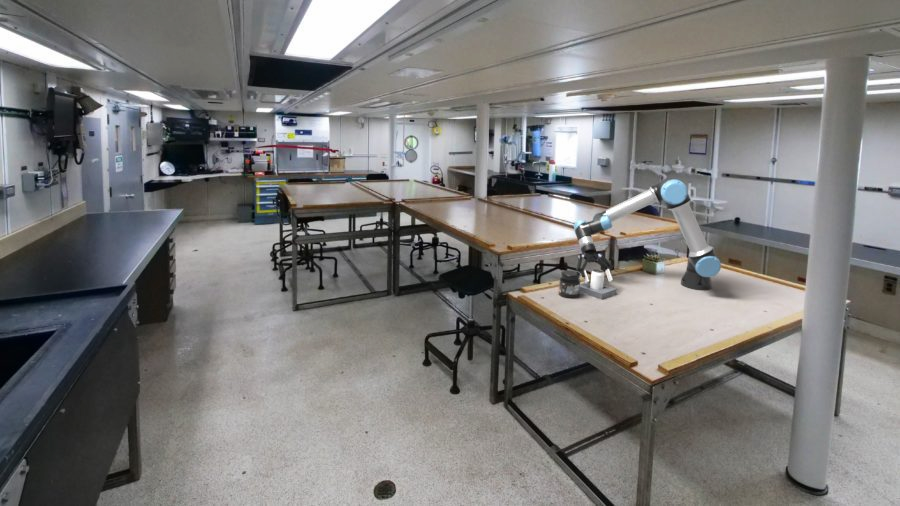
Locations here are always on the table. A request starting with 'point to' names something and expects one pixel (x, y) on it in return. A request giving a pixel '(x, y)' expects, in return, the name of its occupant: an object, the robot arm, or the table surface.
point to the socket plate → (597, 291)
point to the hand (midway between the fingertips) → (599, 281)
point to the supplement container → (569, 284)
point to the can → (597, 279)
